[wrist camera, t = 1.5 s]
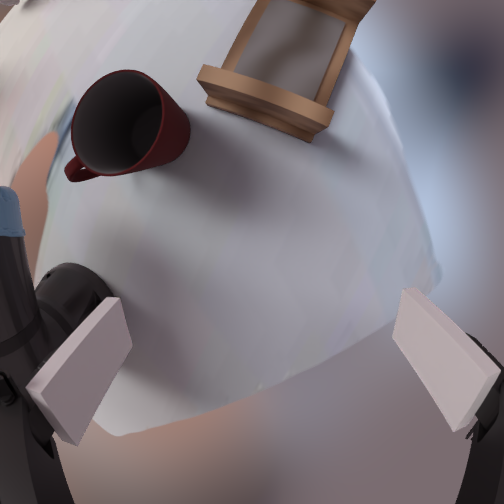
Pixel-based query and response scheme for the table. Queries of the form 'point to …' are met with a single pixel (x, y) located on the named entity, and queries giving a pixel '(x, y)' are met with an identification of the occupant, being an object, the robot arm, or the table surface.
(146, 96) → the mug
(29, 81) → the table surface
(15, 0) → the mug
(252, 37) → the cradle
